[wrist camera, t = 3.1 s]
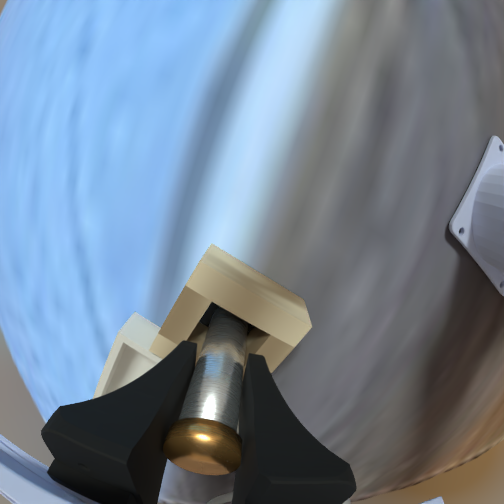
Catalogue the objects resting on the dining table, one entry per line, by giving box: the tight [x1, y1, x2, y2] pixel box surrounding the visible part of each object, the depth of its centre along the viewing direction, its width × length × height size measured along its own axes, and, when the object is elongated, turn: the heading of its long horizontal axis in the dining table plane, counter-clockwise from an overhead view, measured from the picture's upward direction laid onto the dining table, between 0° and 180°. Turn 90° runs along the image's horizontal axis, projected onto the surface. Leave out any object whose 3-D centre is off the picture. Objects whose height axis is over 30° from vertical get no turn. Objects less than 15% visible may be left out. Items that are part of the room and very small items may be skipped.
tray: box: [93, 312, 238, 433], centre depth 17 cm, size 10×10×2 cm
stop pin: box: [163, 307, 248, 475], centre depth 11 cm, size 2×2×9 cm
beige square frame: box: [149, 244, 312, 381], centre depth 15 cm, size 6×6×3 cm
